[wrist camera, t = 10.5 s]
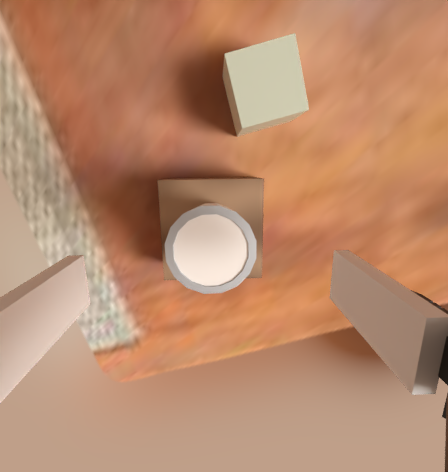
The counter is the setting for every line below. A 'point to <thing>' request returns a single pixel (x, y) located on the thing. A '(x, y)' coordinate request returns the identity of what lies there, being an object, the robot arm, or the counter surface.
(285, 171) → the counter surface
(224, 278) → the shot glass
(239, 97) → the sage block
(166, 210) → the walnut block
